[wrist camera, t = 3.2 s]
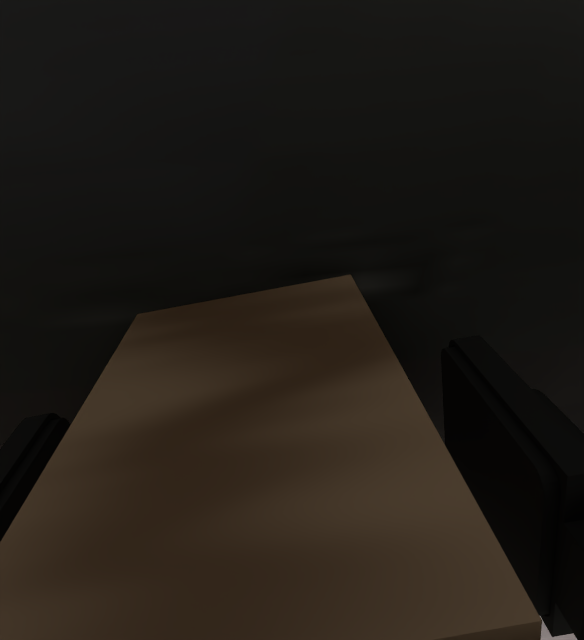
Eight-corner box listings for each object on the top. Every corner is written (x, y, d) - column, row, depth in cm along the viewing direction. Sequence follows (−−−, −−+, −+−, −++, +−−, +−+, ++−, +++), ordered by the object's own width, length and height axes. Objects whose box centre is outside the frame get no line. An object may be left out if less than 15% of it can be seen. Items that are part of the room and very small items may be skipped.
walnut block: (350, 274, 11) (542, 620, 3) (372, 444, 13) (520, 886, 6) (137, 313, 11) (-116, 735, 4) (193, 477, 13) (106, 956, 6)
